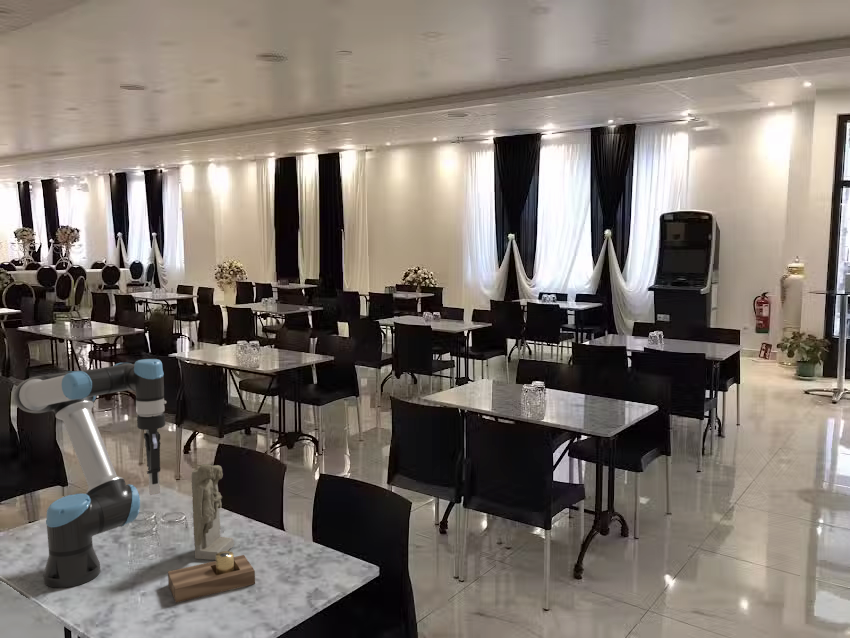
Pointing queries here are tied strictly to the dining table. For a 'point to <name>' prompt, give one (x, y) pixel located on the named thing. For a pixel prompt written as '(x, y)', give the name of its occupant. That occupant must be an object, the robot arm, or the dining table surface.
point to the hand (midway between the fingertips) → (154, 493)
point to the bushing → (224, 562)
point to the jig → (209, 579)
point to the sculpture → (208, 513)
